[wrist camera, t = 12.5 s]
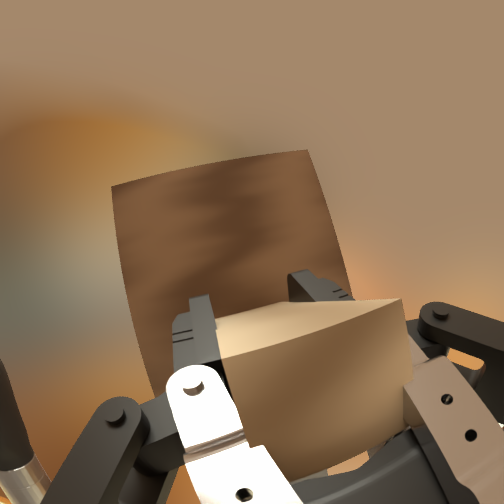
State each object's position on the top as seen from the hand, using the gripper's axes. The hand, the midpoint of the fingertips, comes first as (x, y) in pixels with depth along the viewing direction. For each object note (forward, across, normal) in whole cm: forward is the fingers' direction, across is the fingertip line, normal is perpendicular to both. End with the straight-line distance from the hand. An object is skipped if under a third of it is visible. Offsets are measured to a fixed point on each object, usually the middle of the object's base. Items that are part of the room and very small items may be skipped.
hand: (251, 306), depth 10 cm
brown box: (-2, 0, +3) cm, 3 cm away
